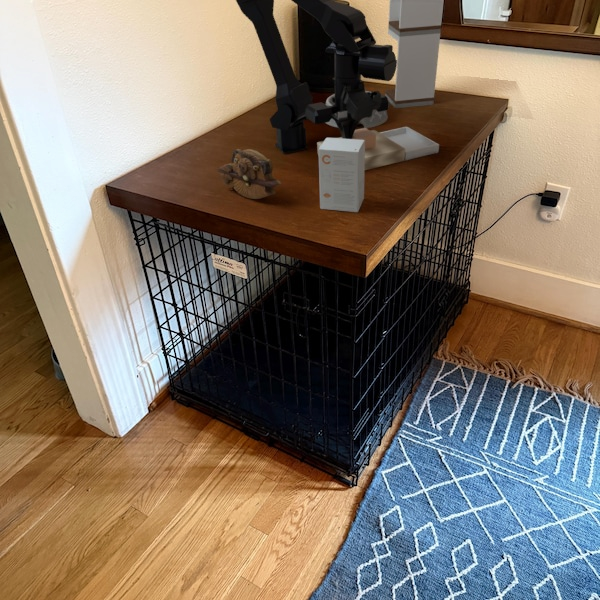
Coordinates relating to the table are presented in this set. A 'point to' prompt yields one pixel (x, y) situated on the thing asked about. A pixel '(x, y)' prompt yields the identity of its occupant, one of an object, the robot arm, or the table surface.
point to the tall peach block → (365, 137)
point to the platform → (380, 152)
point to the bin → (412, 142)
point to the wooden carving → (249, 174)
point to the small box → (341, 174)
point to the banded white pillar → (415, 50)
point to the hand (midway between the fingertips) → (347, 144)
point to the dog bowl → (367, 122)
